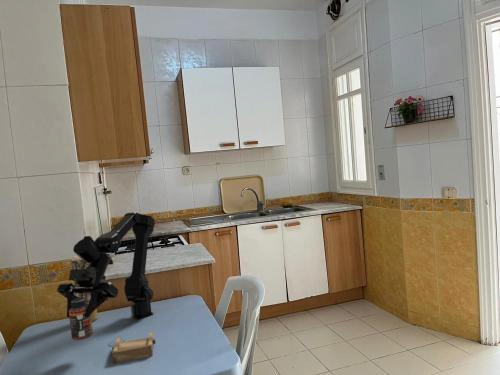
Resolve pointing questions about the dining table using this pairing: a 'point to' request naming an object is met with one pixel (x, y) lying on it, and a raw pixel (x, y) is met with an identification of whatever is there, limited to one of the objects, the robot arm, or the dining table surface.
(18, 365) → the dining table surface
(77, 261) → the paper tube
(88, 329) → the supplement bottle
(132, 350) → the holder
